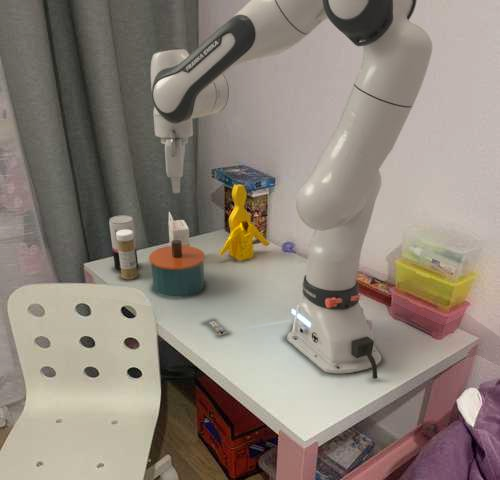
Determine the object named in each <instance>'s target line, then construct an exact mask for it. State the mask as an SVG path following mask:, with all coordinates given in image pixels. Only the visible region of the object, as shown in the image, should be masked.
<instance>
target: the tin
mask: <svg viewBox="0 0 500 480" xmlns="http://www.w3.org/2000/svg"><path fill="white" fill-rule="evenodd" d="M204 261H205V260H204ZM204 261H203V262H202V263H201V264H199V265H197V266H195V267H192V268H187V269H178V270H172V269H163V268H159V267H156V266H154V265H153V264H152V263H151V272H152V285H153V290H154V292H155V293H156V294H160V295H162V296H167V297H176V298H177V297H187V296H188V297H189V296H191V295H194V294H197V293H199V292H201V291H202V290H203V288H205V266H204V263H205V262H204Z"/></svg>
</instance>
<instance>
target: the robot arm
mask: <svg viewBox="0 0 500 480" xmlns="http://www.w3.org/2000/svg"><path fill="white" fill-rule="evenodd" d="M417 1H418V0H249V1H248V3H246V4H245V5H244V6H243V7H242V8H241V9H240V10H239V11H238V12H236V13H235V14H234V15H233V16H232V17H231V18H230V19H229V20H228V21H226V22H225V23H224V24H223V25H221V26H220V27H219V28H218V29H217V30H215V31H214V32H213V33H212V34H211V35H210V36H209V37H208V38H206V39H205V40H204V41H203V42H202V43H201V44H199V46H198V47H196V48H195V49H194V50H193V51H192V52H191V53H189V52H188V51H187V50H186V48H183V47H171V48H164V49H160V50H157V51H155V53H153V55H152V57H151V61H150V89H151V99H152V102H153V103H152V104H153V110H152V111H153V112H152V114H153V127H154V136H155V137H158V138H160V144H162V145H164V157H165V161H164V162H165V173H166V177H167V178H170V182H171V186H172V187H171V188H172V193H173V194H180V193H181V182H182V177H183V175H184V165H185V163H184V162H185V152H186V145H187V144H188V143H189V138H190V137H192V136H194V126H193V125H194V124H193V119H197V118H204V117H208V116H211V115H212V116H213V115H215V114H218V113H220V112H222V111H224V109H225V108H226V106H227V104H228V101H229V97H230V87H229V84H228V80H227V79H226V76H225V73H227V72H228V71H229V70H230V69H232V68H234V67H236V66H238V65H240V64H243V63H246V62H248V61H252V60H257V59H262V58H265V57H266V58H267V57H272V56H277V55H280V54H282V53H284V52H286V51H288V50H290V49H292V48H293V47H295V46H296V45H298V44H299V43H300V42H302V41H303V40H304V39H306V38H307V36H309V35H310V34H312V33H313V31H314V30H315V29H316V28H318V27H319V26H320V25H321V24H322V23H323V22H325V21H326V20H329V22H331V24H332V25H333V26H334V27H335V28H336V29H337V30H338V31H340V32H341V33H342V34H343V35H345V37H346V38H348V40H349V41H350V42H351V43H352V44H353V45H354V46H356V47H362V48H363V57H362V61H361V65H360V67H359V70H358V72H357V75H356V77H355V80H354V83H353V85H352V88H351V90H350V93H349V96H348V97H347V100H346V103H345V106H344V108H343V111H342V113H341V116H340V118H339V121H338V122H337V125H336V127H335V129H334V132H333V133H332V135H331V137H330V139H329V141H328V142H327V143H326V146H325V147H324V149H323V151H322V153H321V154H320V156H319V158H318V160H317V162H316V164H315V165H314V167H313V169H312V171H311V173H310V175H309V177H308V178H307V179H306V181H305V182H304V183H303V185H302V186H301V187H300V189H299V191H298V192H297V195H296V198H295V202H296V203H295V208H296V211H297V214H298V217H299V218H300V220H301V221H302V223H303V224H304V225H306V226H307V227H308V228H310V229H312V230H314V232H313V235H312V237H311V238H310V240H309V243H308V248H307V249H308V250H307V260H306V261H307V262H306V272H305V275H304V276H303V281H302V297H301V299H300V301H299V302H298V304H297V305H296V307H295V309H294V308H291V314H293V316H294V317H293V318H294V319H293V323H292V330H291V331H289V332H288V334H287V337H286V340H287V342H289V343H290V344H291V345H292V346H293V347H294V348H296V349H297V350H298V351H299V352H300V353H302V354H303V355H304V356H305V357H307V358H308V359H309V360H310V361H311V362H312V363H314V364H315V365H316V366H317V367H318V368H319V369H321V370H322V371H323V372H324V373H329V374H339V375H340V374H350V373H357V372H362V371H366V370H369V369H371V372H372V379H378V367H377V365H379V364H380V363H381V362H382V355H381V354H380V352H379V351H378V349H377V348H376V346H375V345H374V343H375V341H374V340H373V332H372V330H373V321H372V320H371V319H367V318H366V316H365V314H364V308H363V307H361V305H360V302H359V301H361V300H362V298H360V297H362V294H360V287H359V282H358V275H359V266H360V261H361V255H362V248H363V245H364V241H365V238H366V236H367V233H368V232H367V231H368V230H369V225H370V223H371V219H372V216H373V212H374V208H375V204H376V202H377V201H376V200H377V199H378V196H379V193H380V190H381V187H382V175H381V171H380V168H381V167H382V165H383V164H384V162H385V161H386V159H387V158H388V156H389V155H390V153H391V152H392V151H393V149H394V147H395V145H396V143H397V140H398V138H399V137H400V134H401V132H402V130H403V128H404V125H405V124H406V121H407V120H408V117H409V115H410V113H411V111H412V109H413V107H414V104H415V102H416V100H417V97H418V95H419V93H420V92H421V88H422V87H423V86H422V85H423V83H424V79H425V77H426V74H427V71H428V68H429V64H430V61H431V57H432V53H433V42H432V39H431V37H430V36H429V34H428V32H427V31H425V29H423V28H422V27H421V26H419V25H418V24H416V23H413V22H411V21H410V19H411V18H412V16H413V14H414V12H415V9H416V6H417Z"/></svg>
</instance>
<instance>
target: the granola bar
mask: <svg viewBox="0 0 500 480" xmlns="http://www.w3.org/2000/svg"><path fill="white" fill-rule="evenodd" d="M208 324H209V325H210V326H212V327H213V328H214V329H215V330H216V331H217V332H216V333H217V334H218V336H219V337H221V336H223V335H227V334H228V331H227V330H226V329H224V328H223V327H222V326H221V325H220V324H219V323H217V322H216V321H215V320H212V321H209V322H208Z"/></svg>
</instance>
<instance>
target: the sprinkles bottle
mask: <svg viewBox="0 0 500 480" xmlns="http://www.w3.org/2000/svg"><path fill="white" fill-rule="evenodd" d="M116 238H117V241H118V251H119V259H120V267H121V272H120V273H121V278H122V279H124V280H127V281H131V280H135V279H136V278H137V277H138V270H137V269H138V268H137V269H136V256H135V248H134V241H133V240H134V239H133V238H134V235H133V231H131V230H127V229H126V230H119V231H117V232H116Z"/></svg>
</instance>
